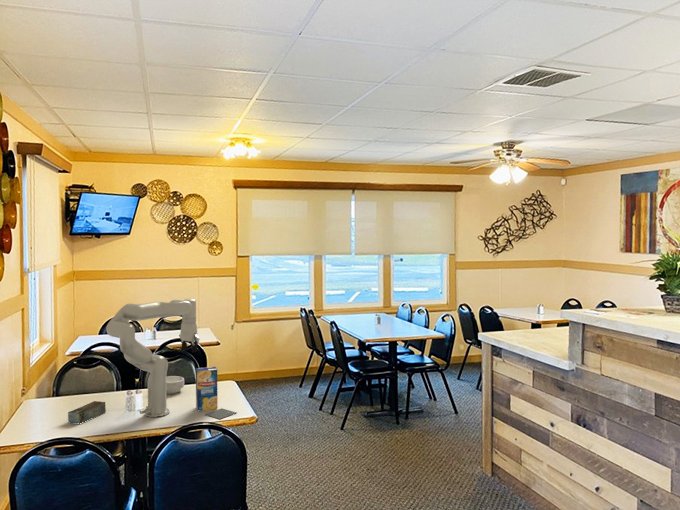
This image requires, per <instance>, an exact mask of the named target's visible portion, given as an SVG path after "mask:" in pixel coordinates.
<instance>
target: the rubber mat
mask: <svg viewBox="0 0 680 510" xmlns="http://www.w3.org/2000/svg"><path fill="white" fill-rule="evenodd" d="M236 413H237V412H235V411H233V410H230V409H225V408H223V407H222V408H219V409H218V408H217V409H214V410H213V411H210V412H206V413H205V414H204V416H207V415H208V416H207V417H210V418H214V419H217V420H222V419H225V418H228V417H231V416H234V415H237V414H236ZM233 414H234V415H233Z"/></svg>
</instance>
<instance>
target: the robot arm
mask: <svg viewBox="0 0 680 510" xmlns="http://www.w3.org/2000/svg"><path fill="white" fill-rule="evenodd" d="M170 317H171V318H172V317H182V319H181V325H180V333H179V335H178V336H179V339H180V343H181V351H185V350H187V349H188V342H191V344H192V345H191V353H197V352H198V344H199V342H200V339H201V338H200V336H198V326H197V300H196V299H194V298H185V299H172V300H171V301H168V302H164V301H154V302H147V303H138V304H137V303H126V304H125V305H123V306H122V307H120V309H119V310H118V311H117V312H116V313H115V314H114V316H113V317H112V318H111V319H110V320H109V322H108V323H107V325H106V328H105V330H106V333H107V335H109V337H113V338H119V349H120V352H122V353H123V357H124V359H125V360H126V361H127V362H128V363H129V364H131V365H133V366H134V367H136V368H137V369H139V370H142V371H144V372H148V373H149V376H148V379H147V406H145V408H144V409H141V410H139V414H140V415H143V414H144V416H146V417H148V416H149V417H148V418H158V417H157V416H161V417H164V416H163V415H165V416H167V415H169V414H170V411H171V410H170V409H169V408H168V407H167V406H168V404H167V394H166V377H167V374H168V373H167V372H168V368H169V362H168V360H167V358H166V357H165V356H162V355H159V354H154V353H153V352H152V350H150V348H148V347H147V346H145V345H144V344H143V343H141V342H140V341H138V340H137V339H136V330H135V326H134V324H132V323H131V322H130V321H134V322H137V321H138V322H139V321H146V320H152V319H157V318H160V319H162V318H170ZM168 413H169V414H168ZM166 414H167V415H166Z"/></svg>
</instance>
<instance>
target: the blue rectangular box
mask: <svg viewBox="0 0 680 510" xmlns="http://www.w3.org/2000/svg"><path fill="white" fill-rule="evenodd" d="M195 408H196V411H197V412H199V411H198V410H203V411H209V410H208V409H212V410H218V368H217V367H216V366H209V367H208V366H206V367H198V368H197V367H196V368H195Z"/></svg>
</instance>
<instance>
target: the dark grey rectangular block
mask: <svg viewBox="0 0 680 510" xmlns="http://www.w3.org/2000/svg"><path fill="white" fill-rule="evenodd" d="M105 412H107V411H106V402H105V401H97V400H94V401H92V402H89V403H87V404H85V405H82V406H80V407H77V408H75V409H73V410H70V411H68V412H67V421H68V423H69V422H70V423H69V424H73V423H79V424H78V425H81V424H80V423H82V422H84V423H86V422H85V421H87V420H89V419H91V418H93V419H95V418H97V417H99V416H101V415H100V414H102V415H103V413H104V414H106V413H105ZM98 415H99V416H98ZM96 416H97V417H96ZM94 417H95V418H94ZM91 420H92V419H91ZM89 421H90V420H89ZM87 422H88V421H87ZM82 424H83V423H82Z"/></svg>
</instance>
